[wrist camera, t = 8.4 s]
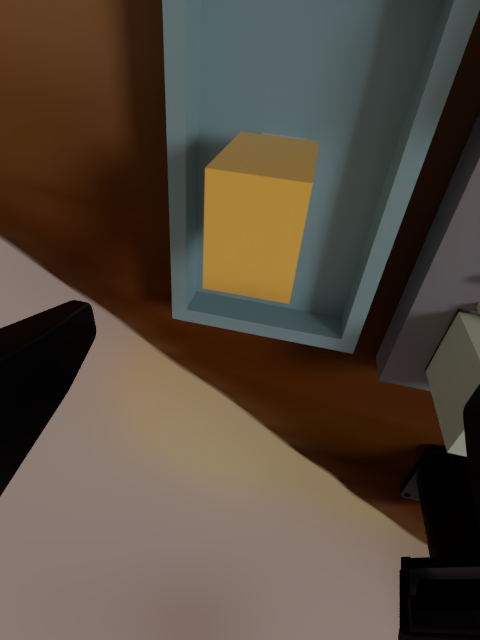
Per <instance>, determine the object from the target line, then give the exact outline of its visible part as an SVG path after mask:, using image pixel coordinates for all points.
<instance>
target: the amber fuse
mask: <svg viewBox="0 0 480 640" xmlns="http://www.w3.org/2000/svg"><path fill="white" fill-rule="evenodd" d="M318 148H319V142H318V141H310V140H307V139H306V138H299V137H291V136H283V135H276V134H268V133H261V134H257V133H249V132H242V131H241V132H240V133H239V134H238V135H237V136H236V137H235V138H234V139H233V140H232V141H231V142H230V143H229V144H228V145H227V146H226V147H225V148H224V149H223V150H222V151H221V152H220V153H219V154H218V155H217V156H216V157H215V158H214V159H213V160H212V161H211V162H210V163H209V164H208V165H207V166H206V167H205V194H204V243H203V289H209V290H214V291H220V292H225V293H231V294H236V295H242V296H247V297H253V298H259V299H264V300H270V301H275V302H281V303H286V304H289V303H290V298H291V293H292V288H293V283H294V278H295V273H296V268H297V262H298V257H299V252H300V247H301V242H302V237H303V232H304V227H305V221H306V216H307V211H308V206H309V201H310V196H311V191H312V186H313V180H314V173H315V167H316V161H317V154H318Z"/></svg>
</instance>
